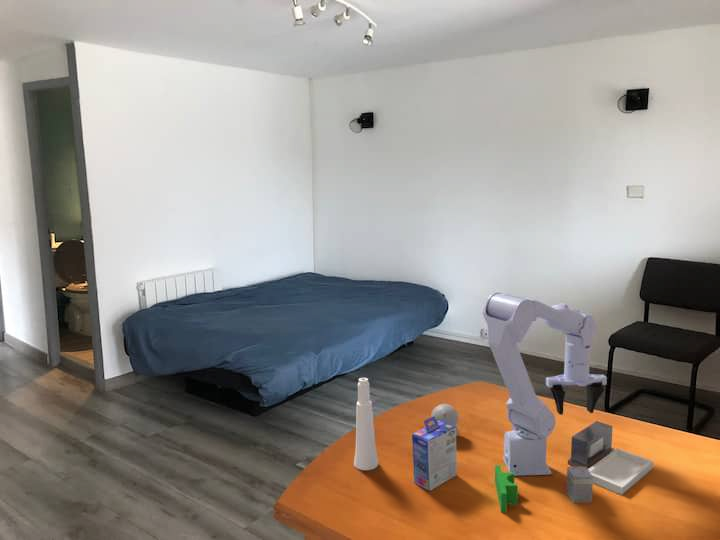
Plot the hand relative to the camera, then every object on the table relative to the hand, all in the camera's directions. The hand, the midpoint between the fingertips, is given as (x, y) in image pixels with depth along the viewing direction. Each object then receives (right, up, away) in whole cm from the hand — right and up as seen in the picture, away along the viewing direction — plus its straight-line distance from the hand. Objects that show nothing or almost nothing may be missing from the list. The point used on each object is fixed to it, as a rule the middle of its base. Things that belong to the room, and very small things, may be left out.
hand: (574, 412), depth 140 cm
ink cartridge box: (-36, -13, -10) cm, 40 cm away
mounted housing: (+3, -10, -4) cm, 11 cm away
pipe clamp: (-22, -14, -18) cm, 32 cm away
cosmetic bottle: (-52, -12, -3) cm, 54 cm away
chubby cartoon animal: (-31, -9, +11) cm, 34 cm away
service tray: (+6, -11, -11) cm, 17 cm away
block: (-6, -14, -19) cm, 24 cm away
